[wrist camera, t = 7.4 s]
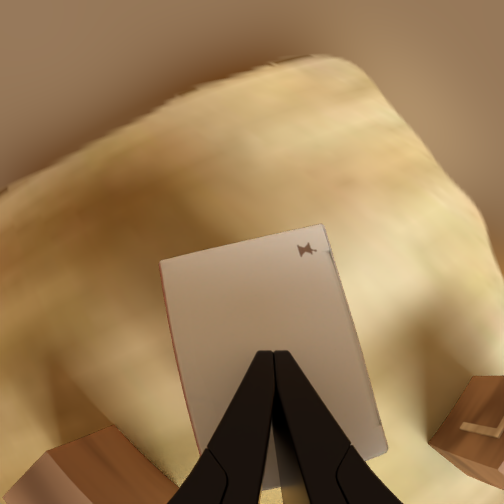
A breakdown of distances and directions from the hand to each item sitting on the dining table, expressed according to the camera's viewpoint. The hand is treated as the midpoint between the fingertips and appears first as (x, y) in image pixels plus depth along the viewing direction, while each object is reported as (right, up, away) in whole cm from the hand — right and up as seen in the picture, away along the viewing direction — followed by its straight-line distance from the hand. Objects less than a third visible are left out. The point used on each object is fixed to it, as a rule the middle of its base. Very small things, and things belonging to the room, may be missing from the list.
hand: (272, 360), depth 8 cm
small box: (0, -4, +10) cm, 11 cm away
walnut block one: (-10, -12, +8) cm, 17 cm away
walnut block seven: (+16, -10, +8) cm, 21 cm away
